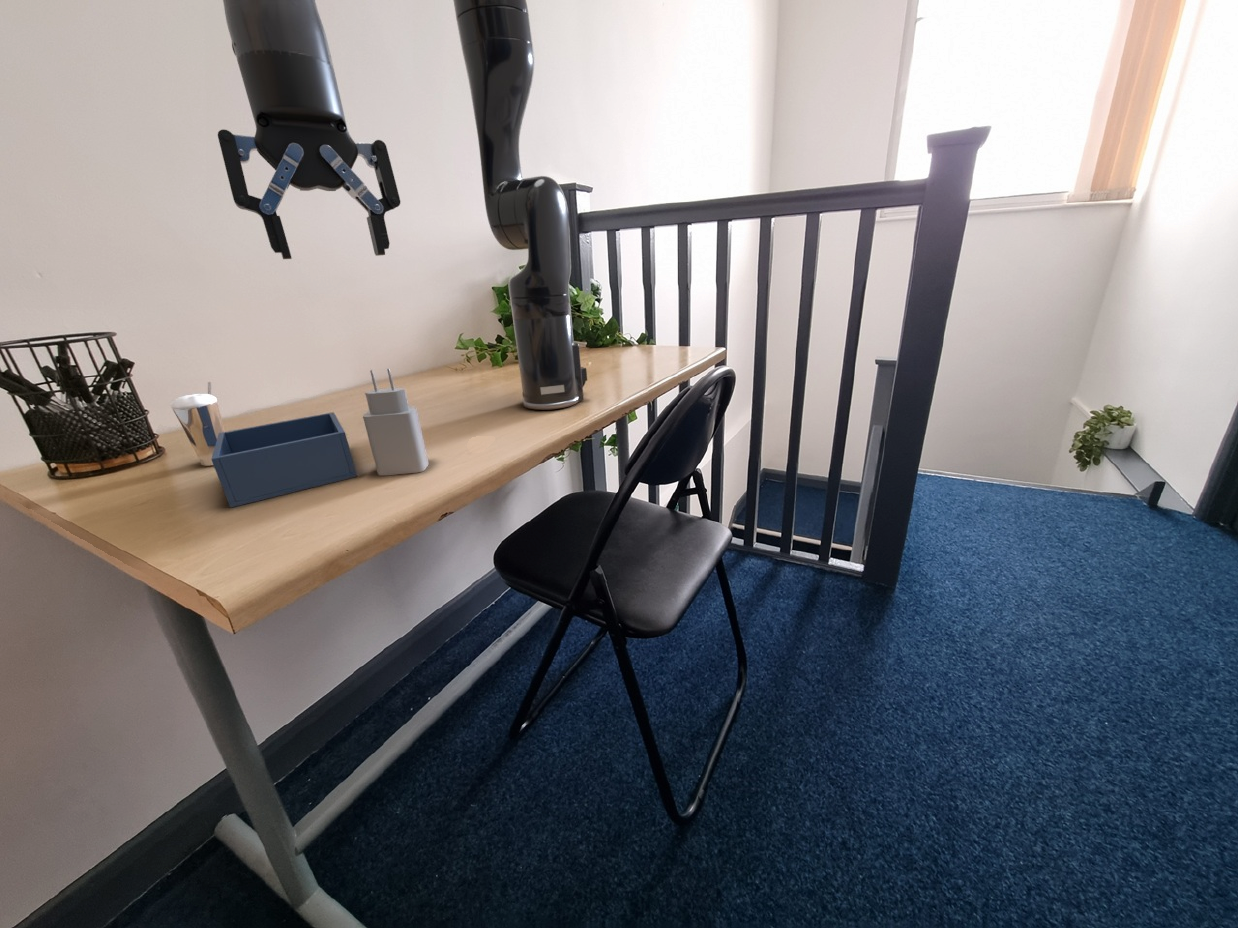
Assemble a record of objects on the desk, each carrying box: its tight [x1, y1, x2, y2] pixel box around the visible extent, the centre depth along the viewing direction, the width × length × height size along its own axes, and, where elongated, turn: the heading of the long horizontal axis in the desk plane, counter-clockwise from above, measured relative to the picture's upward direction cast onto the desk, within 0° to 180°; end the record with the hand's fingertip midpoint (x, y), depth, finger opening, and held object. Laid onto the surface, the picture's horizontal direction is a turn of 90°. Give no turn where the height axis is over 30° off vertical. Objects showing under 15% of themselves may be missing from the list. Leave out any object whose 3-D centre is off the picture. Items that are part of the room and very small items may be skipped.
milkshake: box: [170, 381, 226, 467], centre depth 64 cm, size 4×5×10 cm
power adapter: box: [362, 368, 429, 477], centre depth 57 cm, size 3×5×12 cm, turn 95°
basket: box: [211, 411, 358, 508], centre depth 58 cm, size 12×11×6 cm
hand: (336, 257), depth 51 cm, fingers open, 8 cm apart
